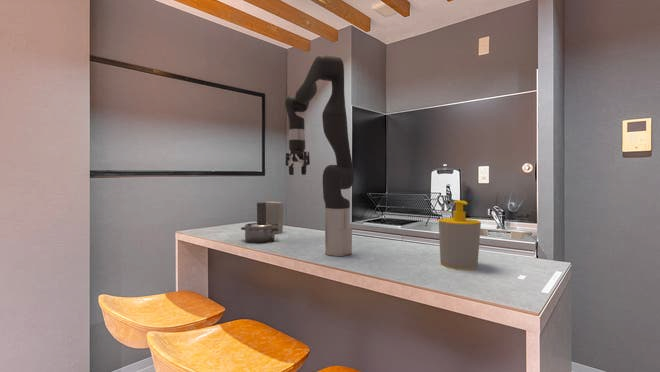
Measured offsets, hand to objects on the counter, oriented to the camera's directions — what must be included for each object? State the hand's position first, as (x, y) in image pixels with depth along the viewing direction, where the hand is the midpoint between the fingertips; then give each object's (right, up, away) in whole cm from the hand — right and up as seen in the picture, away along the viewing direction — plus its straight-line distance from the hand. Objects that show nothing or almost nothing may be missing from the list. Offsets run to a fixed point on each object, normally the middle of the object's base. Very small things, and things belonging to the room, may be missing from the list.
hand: (297, 174), depth 159 cm
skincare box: (-14, -29, +16) cm, 36 cm away
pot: (-16, -30, -5) cm, 34 cm away
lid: (-16, -24, -4) cm, 29 cm away
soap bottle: (+57, -31, -46) cm, 80 cm away
